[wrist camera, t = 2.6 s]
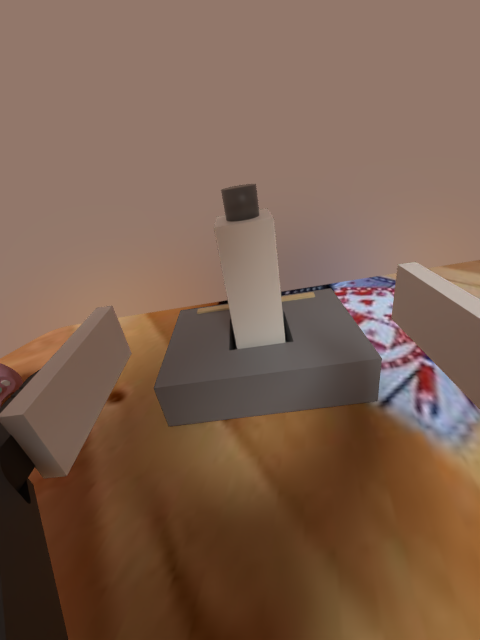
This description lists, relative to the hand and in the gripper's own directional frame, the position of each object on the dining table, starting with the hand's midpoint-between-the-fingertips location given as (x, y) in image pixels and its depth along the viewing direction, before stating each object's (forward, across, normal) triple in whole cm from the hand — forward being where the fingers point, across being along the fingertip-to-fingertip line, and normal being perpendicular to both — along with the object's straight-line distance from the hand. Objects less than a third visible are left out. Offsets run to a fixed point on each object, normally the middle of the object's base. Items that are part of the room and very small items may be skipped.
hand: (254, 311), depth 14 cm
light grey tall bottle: (+10, 0, -10) cm, 14 cm away
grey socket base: (+10, 0, -11) cm, 15 cm away
